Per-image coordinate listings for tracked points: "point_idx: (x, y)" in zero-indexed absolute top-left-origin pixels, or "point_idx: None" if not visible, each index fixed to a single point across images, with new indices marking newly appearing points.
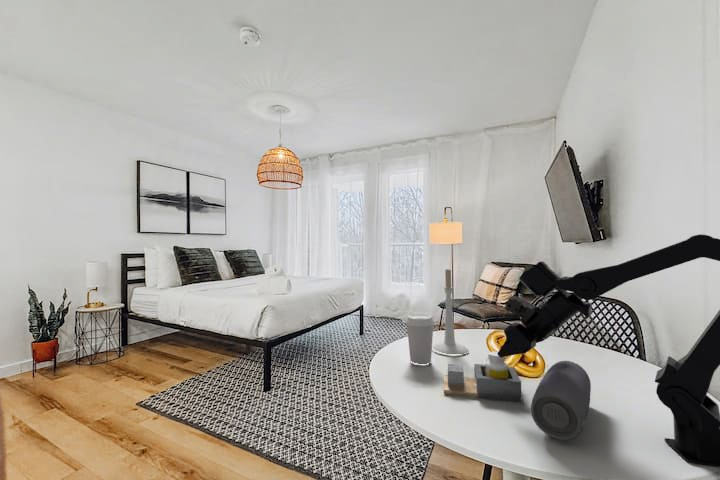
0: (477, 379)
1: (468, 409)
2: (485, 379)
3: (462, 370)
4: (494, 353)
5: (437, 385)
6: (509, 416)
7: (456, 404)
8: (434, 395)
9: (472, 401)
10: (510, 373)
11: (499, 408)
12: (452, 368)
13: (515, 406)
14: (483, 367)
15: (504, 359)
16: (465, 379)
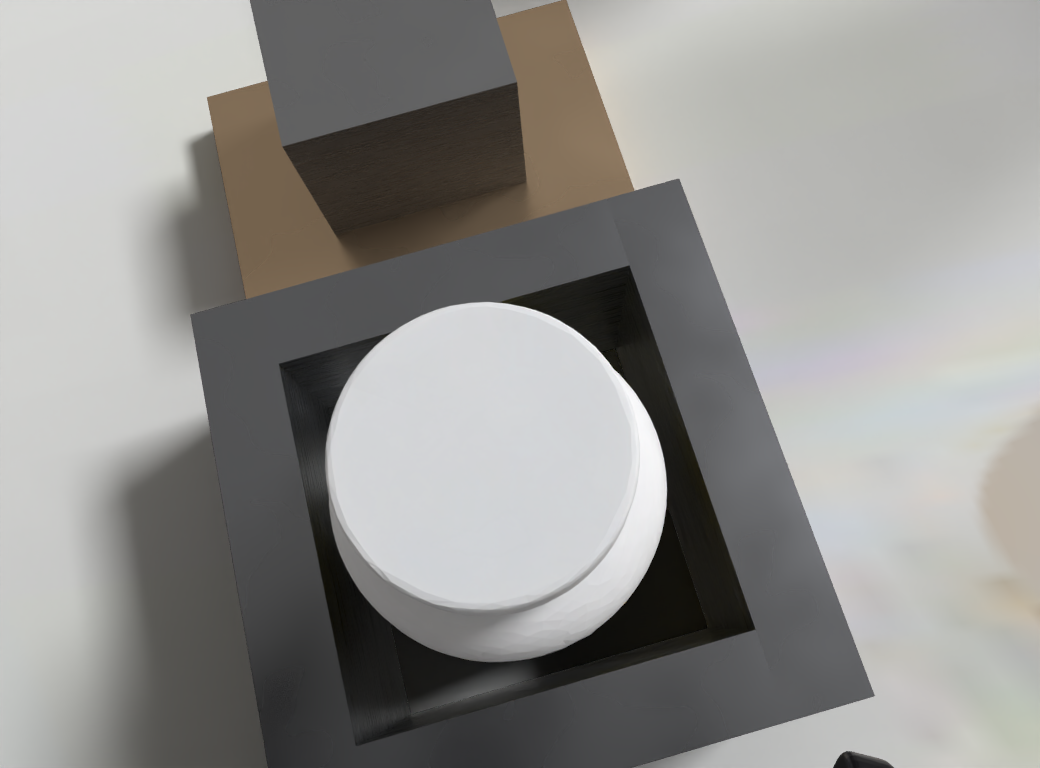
0: (197, 329)
1: (32, 368)
2: (209, 413)
3: (331, 121)
4: (487, 409)
5: None
6: (31, 717)
7: (85, 261)
8: (178, 68)
9: (197, 362)
10: (576, 681)
11: (156, 608)
12: (344, 13)
13: (263, 748)
14: (640, 305)
15: (448, 611)
16: (552, 193)
